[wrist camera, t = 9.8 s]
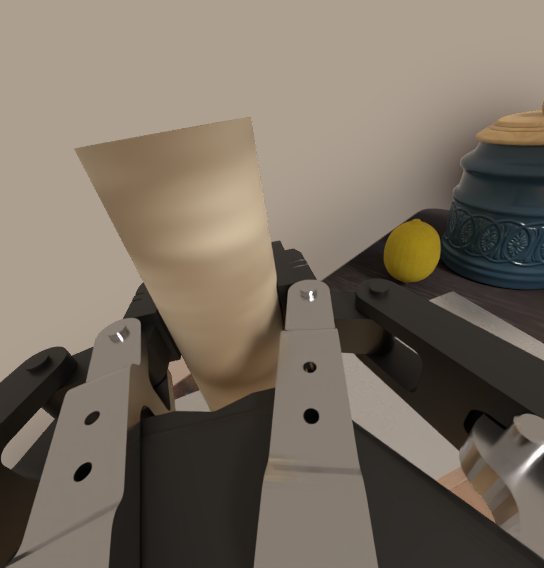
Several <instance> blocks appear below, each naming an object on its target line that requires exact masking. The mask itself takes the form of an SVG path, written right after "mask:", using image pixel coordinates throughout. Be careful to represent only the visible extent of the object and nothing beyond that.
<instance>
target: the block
mask: <svg viewBox="0 0 544 568" xmlns="http://www.w3.org/2000/svg"><path fill="white" fill-rule="evenodd" d="M429 301H431V302H433V303H434V304H436V305H438V306H440V307H442V308H444V309H446V310H448V311H450V312H452V313H454V314H455V315H457V316H459V317H461V318H463V319H465V320H467V321H469V322H471V323H473V324H475V325H477V326H478V327H480V328H482V329H484V330H486V331H488V332H490V333H492V334H494V335H496V336H498V337H500V338H501V339H503V340H505V341H507V342H509V343H511V344H513V345H515V346H517V347H519V348H521V349H523V350H524V351H526V352H528V353H530V354H532V355H534V356H536V357H538V358H540V359H542V360H544V344H543V343H541V342H539V341H538V340H536V339H534V338H533V337H531V336H529V335H527V334H526V333H524V332H522V331H520V330H519V329H517V328H515V327H514V326H512V325H510V324H508V323H507V322H505V321H503V320H501V319H500V318H498V317H496V316H495V315H493V314H491V313H489V312H488V311H486V310H484V309H482V308H481V307H479V306H477V305H476V304H474V303H472V302H470V301H469V300H467V299H465V298H464V297H462V296H460V295H458V294H457V293H455V292H453V291H452V292H450V293H447V294H444V295H442V296H439V297H437V298H434V299H432V300H429ZM395 338H396V337H395ZM396 339H397V340H399V339H398V338H396ZM399 341H400V342H401V343H403V342H402V341H401V340H399ZM403 344H404V345H406V344H405V343H403ZM406 346H407V347H408V348H410V347H409V346H408V345H406ZM410 349H411V350H413V349H412V348H410ZM413 351H414V350H413ZM414 352H415V351H414ZM415 353H416V352H415ZM342 360H343V366H344V372H345V379H346V385H347V391H348V398H349V404H350V410H351V417H352V420H353V421H355V422H356V423H357V424H359V425H360V426H362V427H363V428H364V429H366V430H367V431H368V432H370V433H371V434H373V435H374V436H375V437H377V438H378V439H379V440H381V441H382V442H384V443H385V444H386V445H388V446H389V447H390V448H392V449H393V450H395V451H396V452H397V453H399V454H400V455H401V456H403V457H404V458H406V459H407V460H408V461H410V462H411V463H413V464H414V465H415V466H417V467H418V468H419V469H421V470H422V471H424V472H425V473H426V474H428V475H429V476H430V477H432V478H433V479H435V480H436V481H437V482H439V483H440V484H441V485H443V486H444V487H446V488H447V489H448V490H451V489H453V488H454V487H456V486H458V485H460V484H461V483H463V482H465V481H466V480H468V479H467V477H466V476H465V474H464V472H463V470H462V467H461V464H460V460H459V451H458V450H457V449H456V448H455V447H454V446H453V445H452V444H451V443H450V442H449V441H447V440H446V439H445V438H444V437H443V436H442V435H441V434H440V433H439V432H438V431H437V430H435V429H434V428H433V427H432V426H431V425H430V424H429V423H428V422H427V421H426V420H425V419H423V418H422V417H421V416H420V415H419V414H418V413H417V412H416V411H415V410H414V409H413V408H411V407H410V406H409V405H408V404H407V403H406V402H405V401H404V400H403V399H402V398H401V397H399V396H398V395H397V394H396V393H395V392H394V391H393V390H392V389H391V388H390V387H389V386H387V385H386V384H385V383H384V382H383V381H382V380H381V379H380V378H379V377H378V376H377V375H375V374H374V373H373V372H372V371H371V370H370V369H369V368H368V367H367V366H366V365H365V364H363V363H362V362H361V361H360V360H359V359H358V358H357V357H356V356H355V354H354V353H342ZM175 408H176V411H205V412H211V411H210V409H209V407H208V405H207V403H206V401H205V399H204V397H203V395H202V394H201V392H200V390H199V391H196V392H193V393H191V394H188V395H186V396H183V397H181V398H178V399H175Z"/></svg>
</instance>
